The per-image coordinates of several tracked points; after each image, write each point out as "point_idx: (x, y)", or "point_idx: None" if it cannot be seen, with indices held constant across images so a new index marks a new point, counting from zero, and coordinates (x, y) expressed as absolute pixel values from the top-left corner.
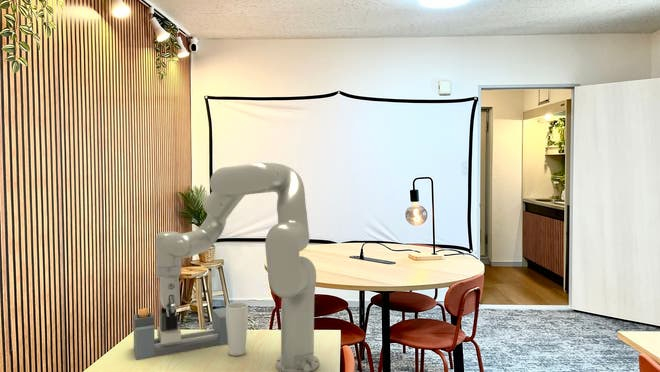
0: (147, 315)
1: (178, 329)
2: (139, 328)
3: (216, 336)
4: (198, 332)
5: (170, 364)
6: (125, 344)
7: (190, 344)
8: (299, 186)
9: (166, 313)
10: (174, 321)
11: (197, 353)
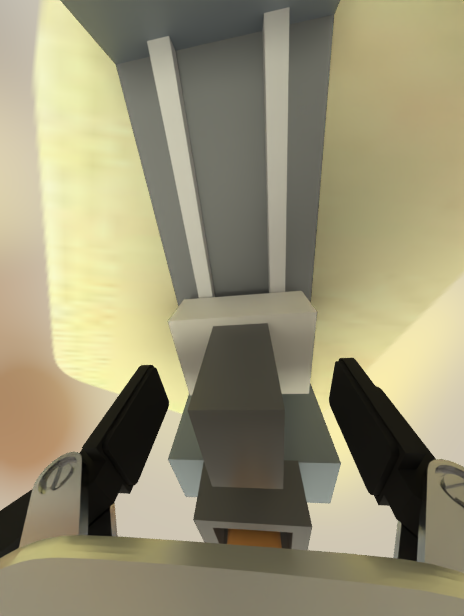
0: (273, 546)
1: (269, 321)
2: (315, 496)
3: (287, 40)
4: (191, 184)
5: (398, 319)
6: (171, 404)
7: (314, 243)
8: None
9: (226, 464)
10: (403, 417)
11: (360, 213)
